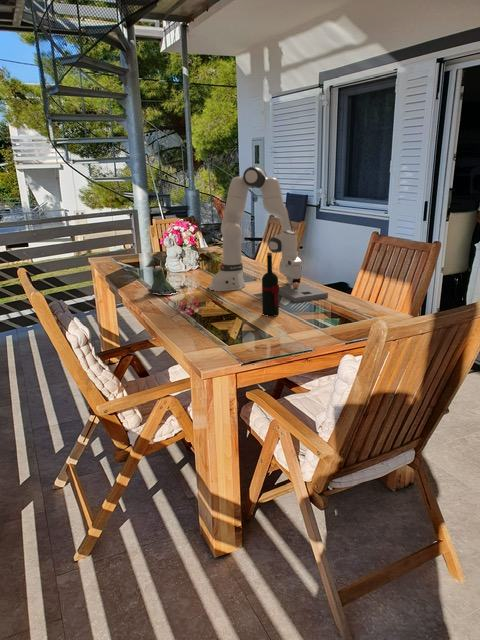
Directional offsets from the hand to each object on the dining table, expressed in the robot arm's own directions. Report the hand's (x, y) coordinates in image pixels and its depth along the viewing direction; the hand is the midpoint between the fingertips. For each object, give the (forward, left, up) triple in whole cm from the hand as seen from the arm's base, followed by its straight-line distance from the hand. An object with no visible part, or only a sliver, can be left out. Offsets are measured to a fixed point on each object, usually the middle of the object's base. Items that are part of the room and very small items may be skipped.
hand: (290, 283), depth 275 cm
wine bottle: (-30, -38, -4) cm, 49 cm away
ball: (0, -7, +1) cm, 7 cm away
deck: (0, -12, -4) cm, 13 cm away
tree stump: (-66, +32, -4) cm, 73 cm away
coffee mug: (+11, +17, -4) cm, 20 cm away
